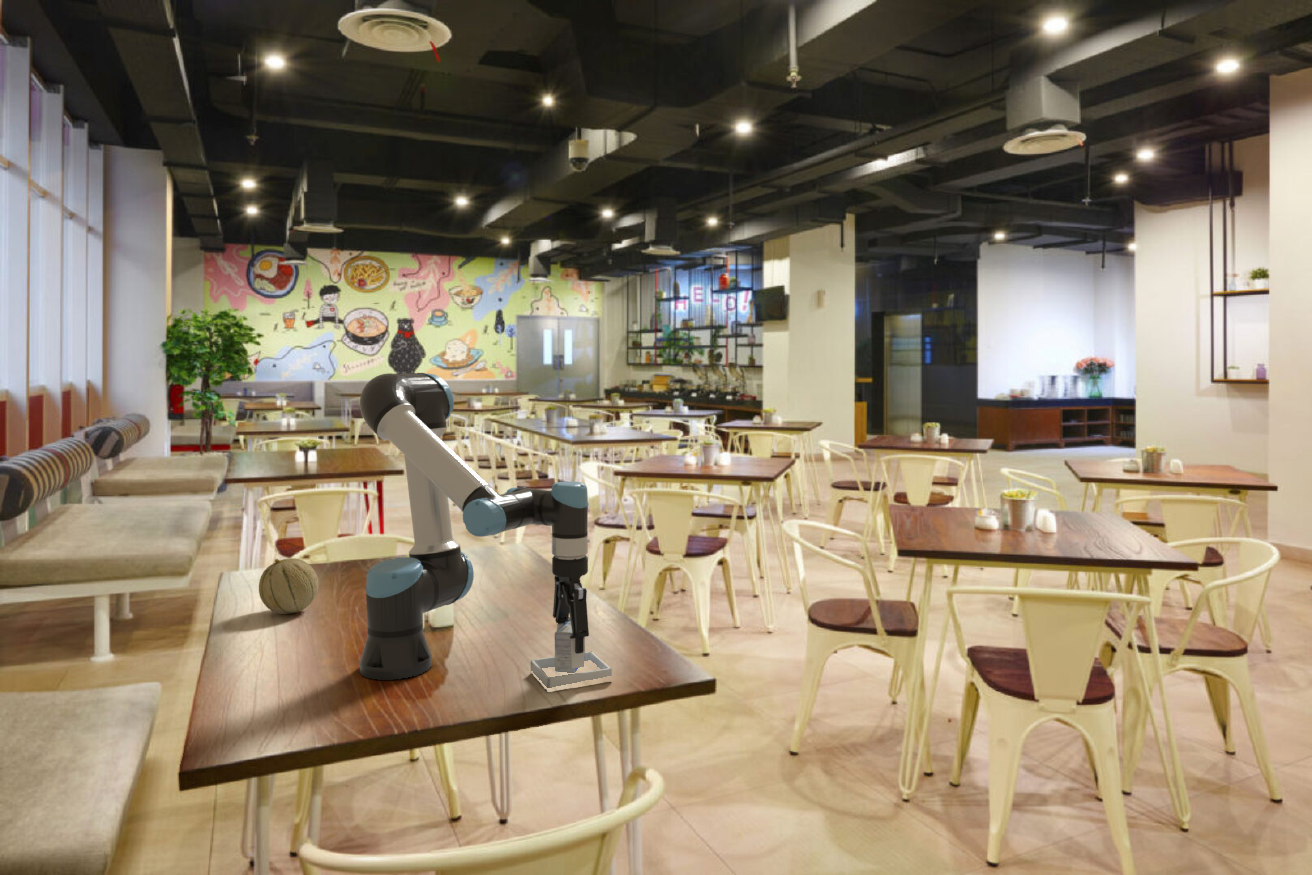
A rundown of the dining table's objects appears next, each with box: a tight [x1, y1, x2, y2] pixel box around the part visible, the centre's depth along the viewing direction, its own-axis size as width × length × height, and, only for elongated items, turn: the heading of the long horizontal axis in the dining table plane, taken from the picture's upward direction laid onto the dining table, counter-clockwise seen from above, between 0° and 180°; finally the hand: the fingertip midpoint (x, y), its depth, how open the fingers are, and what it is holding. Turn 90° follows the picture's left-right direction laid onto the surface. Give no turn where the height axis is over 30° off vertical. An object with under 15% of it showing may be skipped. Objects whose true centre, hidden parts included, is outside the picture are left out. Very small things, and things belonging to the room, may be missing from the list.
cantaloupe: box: [258, 557, 319, 615], centre depth 229 cm, size 15×15×15 cm
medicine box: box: [554, 621, 586, 673], centre depth 182 cm, size 8×4×9 cm, turn 168°
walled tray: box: [530, 650, 613, 688], centre depth 182 cm, size 14×12×3 cm
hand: (570, 659), depth 182 cm, fingers closed on medicine box, 9 cm apart
